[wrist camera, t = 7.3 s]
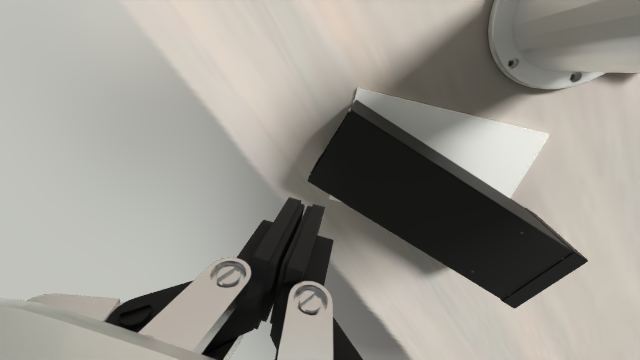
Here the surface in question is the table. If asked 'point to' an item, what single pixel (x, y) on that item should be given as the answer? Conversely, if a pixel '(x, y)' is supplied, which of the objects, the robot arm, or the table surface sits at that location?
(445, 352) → the table surface
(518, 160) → the white mat
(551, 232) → the black rectangular box
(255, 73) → the table surface
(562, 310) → the table surface
